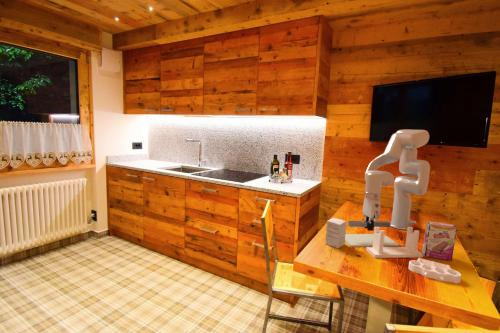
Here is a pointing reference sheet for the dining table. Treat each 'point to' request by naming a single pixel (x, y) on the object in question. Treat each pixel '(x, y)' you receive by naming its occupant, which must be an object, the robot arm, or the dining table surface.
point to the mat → (366, 240)
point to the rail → (365, 224)
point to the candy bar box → (439, 240)
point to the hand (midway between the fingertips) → (368, 229)
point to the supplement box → (335, 232)
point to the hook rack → (395, 252)
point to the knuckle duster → (434, 270)
